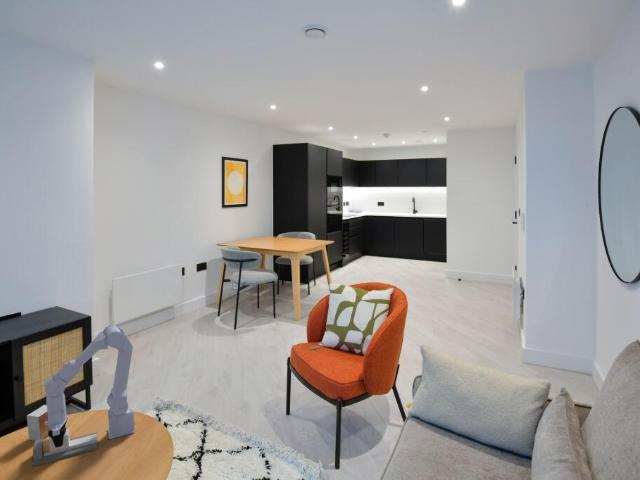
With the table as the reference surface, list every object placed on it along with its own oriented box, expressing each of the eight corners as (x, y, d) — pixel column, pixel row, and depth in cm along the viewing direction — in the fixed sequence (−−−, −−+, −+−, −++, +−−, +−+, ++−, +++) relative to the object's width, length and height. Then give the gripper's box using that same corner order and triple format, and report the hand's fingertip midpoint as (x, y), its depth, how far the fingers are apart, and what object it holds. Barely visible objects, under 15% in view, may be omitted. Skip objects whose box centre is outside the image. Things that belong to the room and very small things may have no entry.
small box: (40, 442, 155) (38, 417, 154) (28, 440, 156) (26, 415, 155) (57, 429, 163) (55, 406, 162) (46, 428, 164) (43, 404, 163)
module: (69, 440, 153) (68, 427, 152) (69, 447, 149) (68, 434, 149) (51, 445, 150) (50, 432, 150) (50, 452, 146) (48, 438, 146)
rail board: (97, 434, 160) (96, 423, 159) (96, 449, 152) (96, 437, 151) (36, 450, 151) (35, 438, 150) (33, 466, 142) (31, 453, 141)
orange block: (51, 444, 150) (50, 438, 150) (50, 450, 147) (49, 444, 146) (44, 446, 149) (44, 440, 149) (43, 452, 146) (42, 446, 145)
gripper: (46, 402, 152) (49, 434, 154) (41, 422, 139) (44, 457, 141) (67, 397, 155) (70, 429, 157) (64, 416, 143) (67, 451, 145)
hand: (59, 442), depth 150 cm, fingers open, 5 cm apart
